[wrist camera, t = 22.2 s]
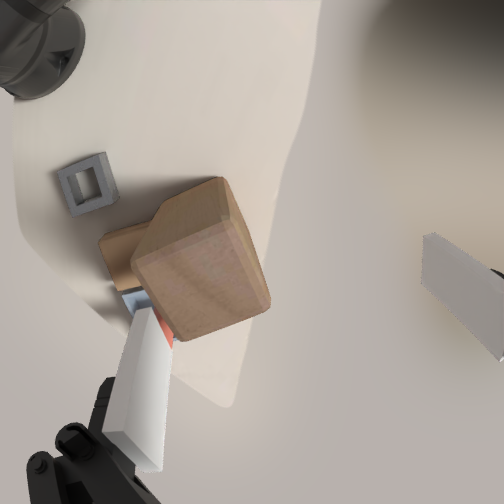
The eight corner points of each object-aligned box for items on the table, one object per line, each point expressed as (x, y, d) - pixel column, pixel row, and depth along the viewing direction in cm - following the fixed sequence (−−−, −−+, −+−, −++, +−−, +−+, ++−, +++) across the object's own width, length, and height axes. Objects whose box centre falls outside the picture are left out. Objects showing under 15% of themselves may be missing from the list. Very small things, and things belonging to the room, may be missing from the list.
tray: (126, 284, 47) (121, 295, 44) (186, 268, 47) (184, 280, 44) (150, 333, 51) (147, 346, 48) (205, 321, 51) (205, 334, 48)
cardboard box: (106, 232, 44) (97, 242, 40) (166, 215, 44) (162, 224, 40) (123, 278, 47) (117, 291, 43) (182, 264, 47) (179, 276, 44)
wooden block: (189, 260, 47) (179, 348, 29) (159, 202, 43) (122, 263, 24) (250, 234, 46) (276, 311, 28) (223, 172, 42) (232, 214, 24)
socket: (65, 168, 38) (56, 171, 36) (105, 151, 39) (98, 154, 36) (80, 211, 41) (72, 217, 39) (119, 197, 42) (113, 202, 39)
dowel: (152, 298, 48) (137, 359, 35) (172, 293, 48) (163, 354, 35) (159, 316, 49) (148, 378, 37) (180, 311, 50) (173, 374, 37)
